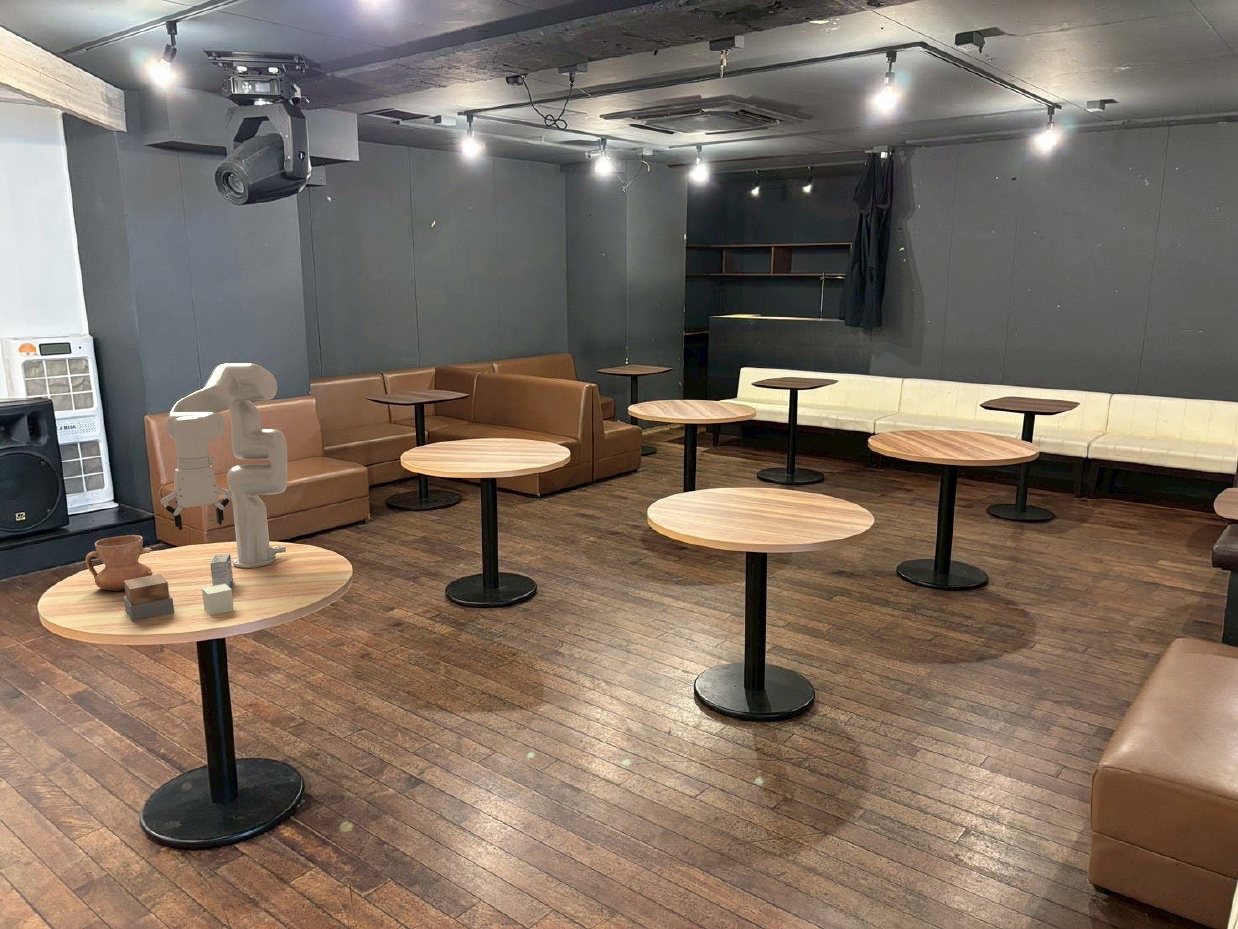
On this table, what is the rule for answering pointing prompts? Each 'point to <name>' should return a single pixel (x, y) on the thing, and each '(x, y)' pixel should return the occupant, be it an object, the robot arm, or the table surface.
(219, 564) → the medicine box
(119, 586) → the ceramic jug
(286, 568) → the table surface
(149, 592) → the tower top block
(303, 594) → the table surface
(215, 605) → the cream cube
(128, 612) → the tower base block
